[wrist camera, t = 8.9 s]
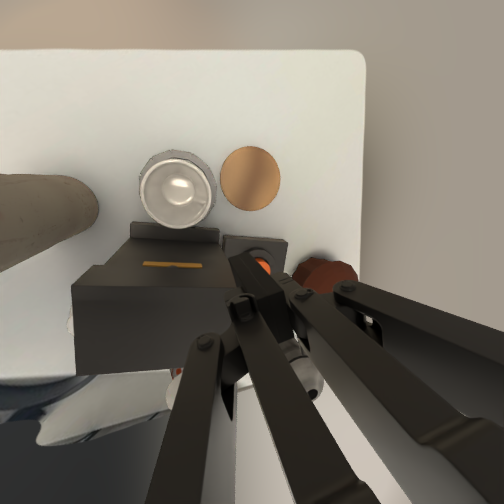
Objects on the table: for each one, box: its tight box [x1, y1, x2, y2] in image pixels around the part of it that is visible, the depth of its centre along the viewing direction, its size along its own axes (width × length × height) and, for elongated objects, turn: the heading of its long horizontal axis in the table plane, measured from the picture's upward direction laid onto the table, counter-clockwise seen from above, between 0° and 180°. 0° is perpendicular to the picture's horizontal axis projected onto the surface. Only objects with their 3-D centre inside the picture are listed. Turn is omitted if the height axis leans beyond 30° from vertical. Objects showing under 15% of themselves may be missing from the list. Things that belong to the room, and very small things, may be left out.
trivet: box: [220, 146, 280, 211], centre depth 39 cm, size 10×10×1 cm
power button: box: [256, 258, 270, 275], centre depth 40 cm, size 4×4×2 cm
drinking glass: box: [140, 159, 211, 229], centre depth 30 cm, size 7×7×15 cm
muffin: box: [292, 258, 358, 294], centre depth 44 cm, size 12×11×10 cm
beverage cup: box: [279, 338, 324, 402], centre depth 40 cm, size 7×7×20 cm
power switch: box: [222, 235, 288, 275], centre depth 42 cm, size 11×9×4 cm
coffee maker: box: [71, 150, 237, 376], centre depth 28 cm, size 13×22×22 cm, turn 172°
